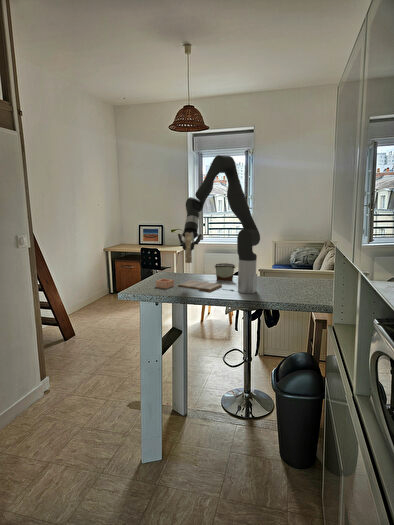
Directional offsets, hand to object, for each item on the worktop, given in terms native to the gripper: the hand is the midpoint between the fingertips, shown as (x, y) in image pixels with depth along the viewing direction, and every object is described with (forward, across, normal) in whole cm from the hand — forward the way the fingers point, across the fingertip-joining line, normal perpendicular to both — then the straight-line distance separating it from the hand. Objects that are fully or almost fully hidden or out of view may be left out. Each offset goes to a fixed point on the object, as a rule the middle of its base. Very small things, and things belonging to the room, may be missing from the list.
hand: (187, 249), depth 189 cm
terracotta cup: (+15, -13, +15) cm, 25 cm away
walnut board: (+12, +6, +19) cm, 23 cm away
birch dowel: (+4, 0, +7) cm, 8 cm away
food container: (-3, +18, +34) cm, 38 cm away
